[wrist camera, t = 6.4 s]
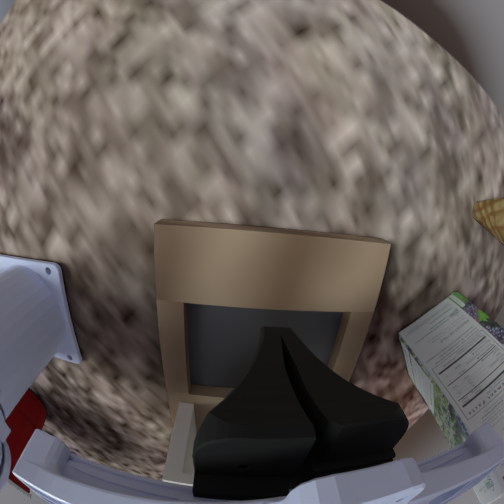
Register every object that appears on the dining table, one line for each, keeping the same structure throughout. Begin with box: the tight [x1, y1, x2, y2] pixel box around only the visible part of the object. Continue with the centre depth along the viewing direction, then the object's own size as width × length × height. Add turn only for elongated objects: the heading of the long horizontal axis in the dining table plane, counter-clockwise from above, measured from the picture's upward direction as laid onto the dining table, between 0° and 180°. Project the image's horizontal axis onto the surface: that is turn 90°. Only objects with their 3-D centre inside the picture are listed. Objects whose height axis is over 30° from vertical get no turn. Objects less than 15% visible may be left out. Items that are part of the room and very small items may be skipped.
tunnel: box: [162, 402, 196, 486], centre depth 14 cm, size 10×6×6 cm, turn 85°
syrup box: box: [398, 292, 504, 504], centre depth 10 cm, size 6×6×14 cm
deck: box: [154, 219, 391, 434], centre depth 17 cm, size 12×27×1 cm, turn 175°
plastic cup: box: [5, 389, 47, 498], centre depth 13 cm, size 11×11×12 cm
